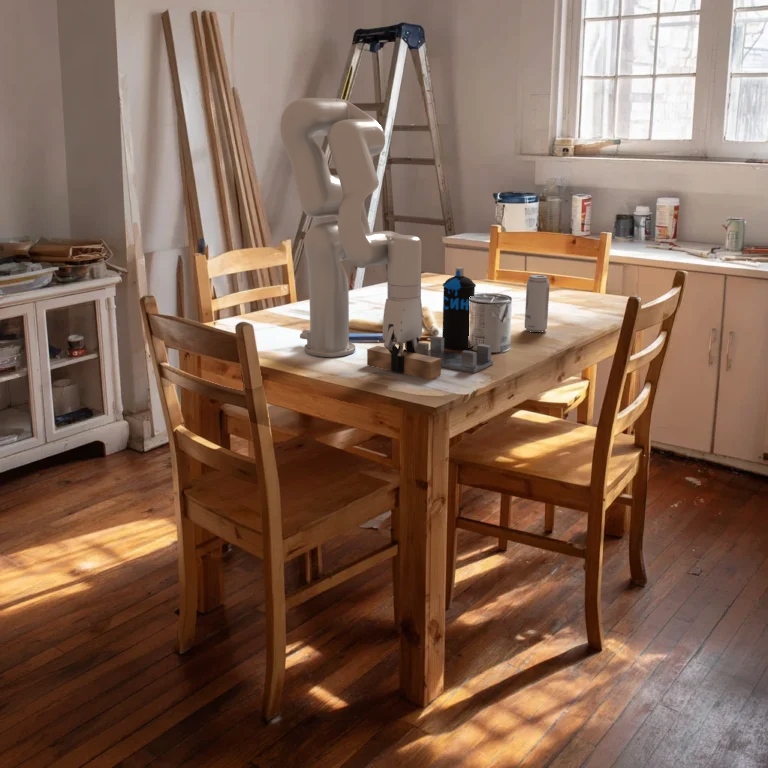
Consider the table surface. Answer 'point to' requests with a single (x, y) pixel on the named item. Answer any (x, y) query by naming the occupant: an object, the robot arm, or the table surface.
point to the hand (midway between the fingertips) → (403, 368)
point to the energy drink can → (537, 303)
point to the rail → (406, 362)
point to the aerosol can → (457, 310)
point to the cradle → (457, 356)
